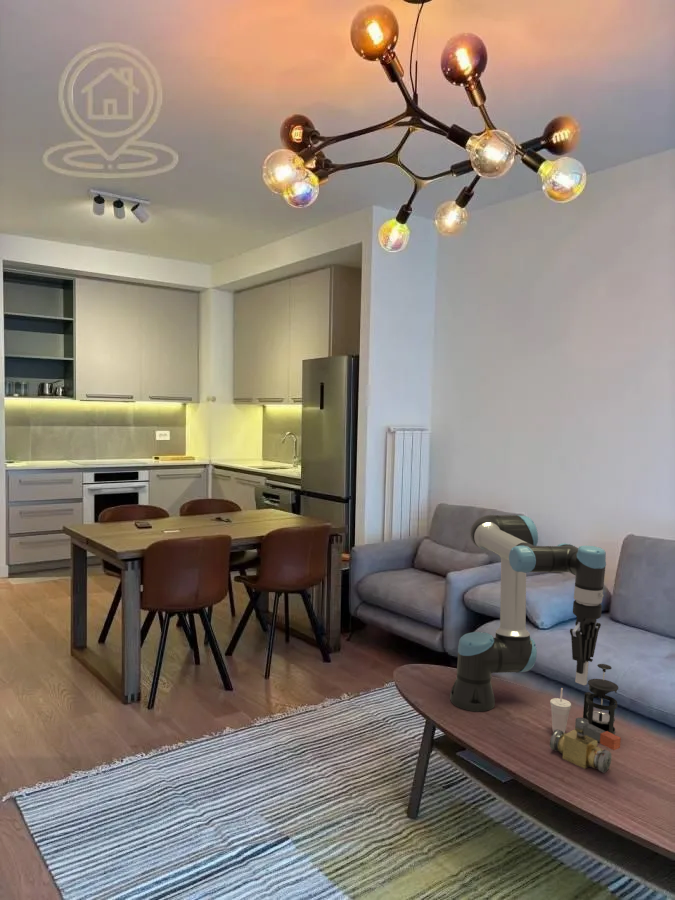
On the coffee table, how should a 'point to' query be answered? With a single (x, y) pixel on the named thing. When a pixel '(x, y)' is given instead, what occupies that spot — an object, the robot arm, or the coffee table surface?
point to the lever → (597, 734)
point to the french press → (599, 690)
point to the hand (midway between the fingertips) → (580, 683)
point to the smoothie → (560, 712)
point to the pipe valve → (580, 750)
